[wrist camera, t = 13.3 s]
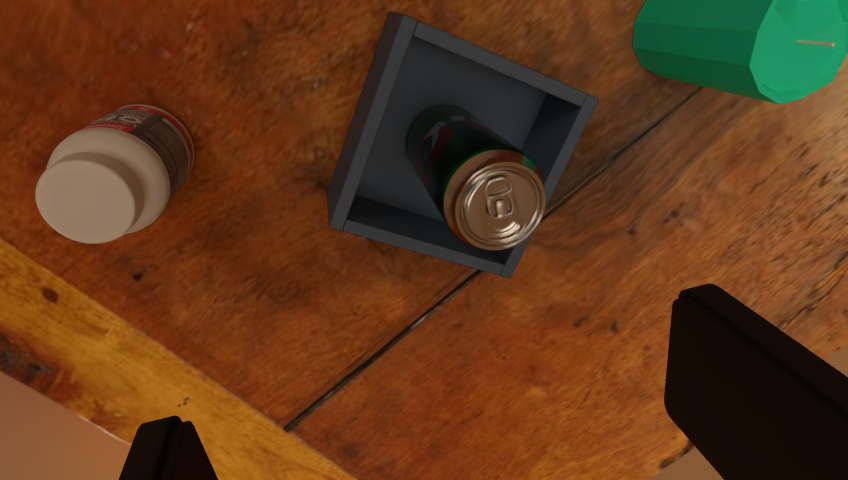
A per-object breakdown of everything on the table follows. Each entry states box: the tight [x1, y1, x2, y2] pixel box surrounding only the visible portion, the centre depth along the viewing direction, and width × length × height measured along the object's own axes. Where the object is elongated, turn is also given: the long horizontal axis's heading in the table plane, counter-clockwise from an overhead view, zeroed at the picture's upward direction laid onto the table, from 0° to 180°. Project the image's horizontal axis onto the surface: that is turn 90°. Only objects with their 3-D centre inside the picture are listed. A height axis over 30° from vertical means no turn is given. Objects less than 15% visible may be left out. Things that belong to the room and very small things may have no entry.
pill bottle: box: [35, 104, 195, 244], centre depth 28 cm, size 5×5×10 cm
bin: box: [327, 11, 599, 278], centre depth 33 cm, size 12×12×6 cm
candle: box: [633, 0, 848, 104], centre depth 30 cm, size 6×6×12 cm
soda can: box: [407, 105, 546, 250], centre depth 29 cm, size 5×5×12 cm
